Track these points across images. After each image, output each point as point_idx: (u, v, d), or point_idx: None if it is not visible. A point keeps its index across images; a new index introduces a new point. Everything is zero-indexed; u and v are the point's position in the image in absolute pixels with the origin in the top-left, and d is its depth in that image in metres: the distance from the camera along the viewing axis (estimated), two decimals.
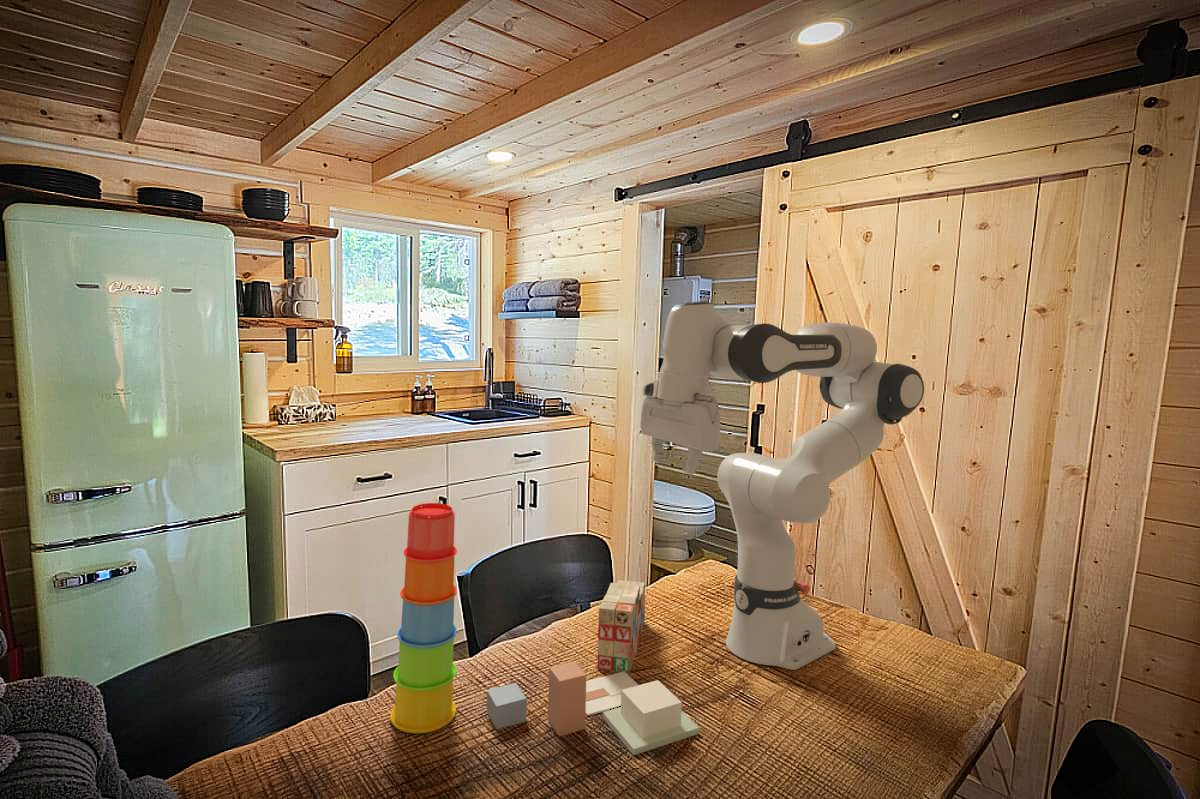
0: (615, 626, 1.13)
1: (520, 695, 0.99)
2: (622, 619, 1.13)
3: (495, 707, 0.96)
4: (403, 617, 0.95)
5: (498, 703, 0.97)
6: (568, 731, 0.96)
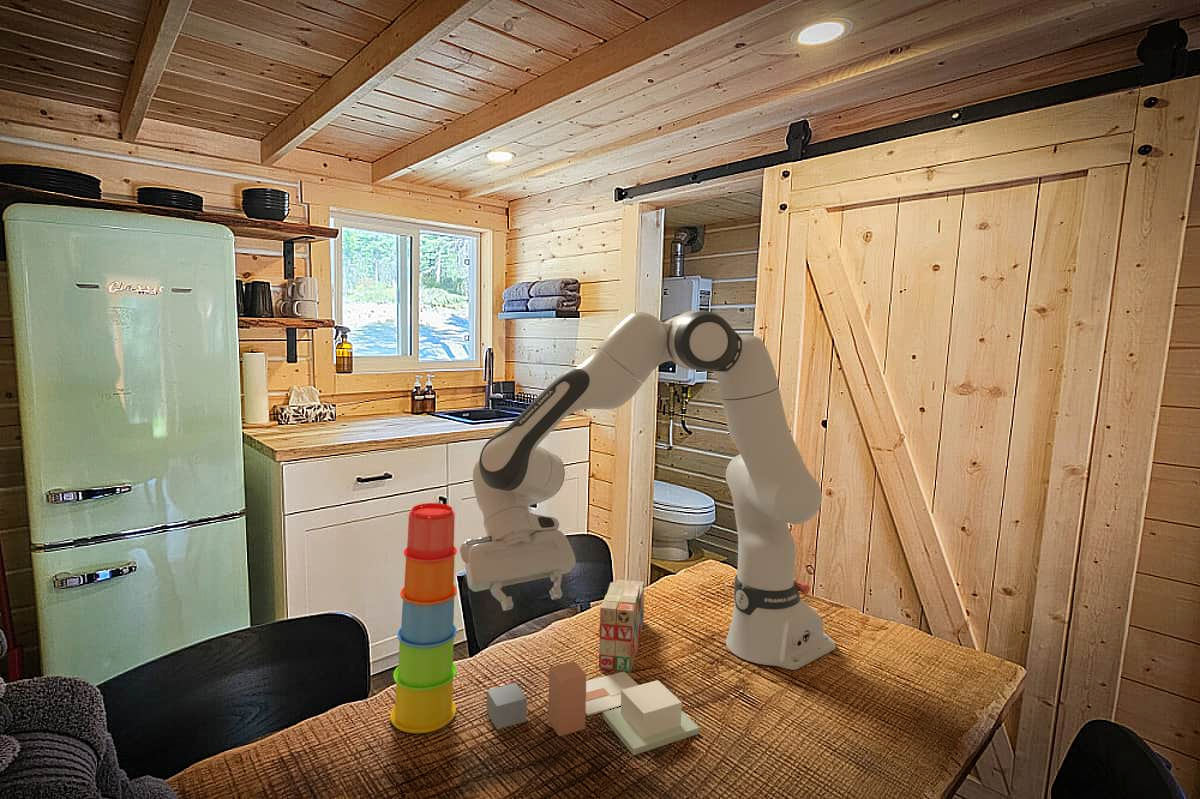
0: (617, 625, 1.13)
1: (520, 695, 0.99)
2: (623, 618, 1.13)
3: (495, 707, 0.96)
4: (403, 617, 0.95)
5: (498, 703, 0.97)
6: (568, 731, 0.96)
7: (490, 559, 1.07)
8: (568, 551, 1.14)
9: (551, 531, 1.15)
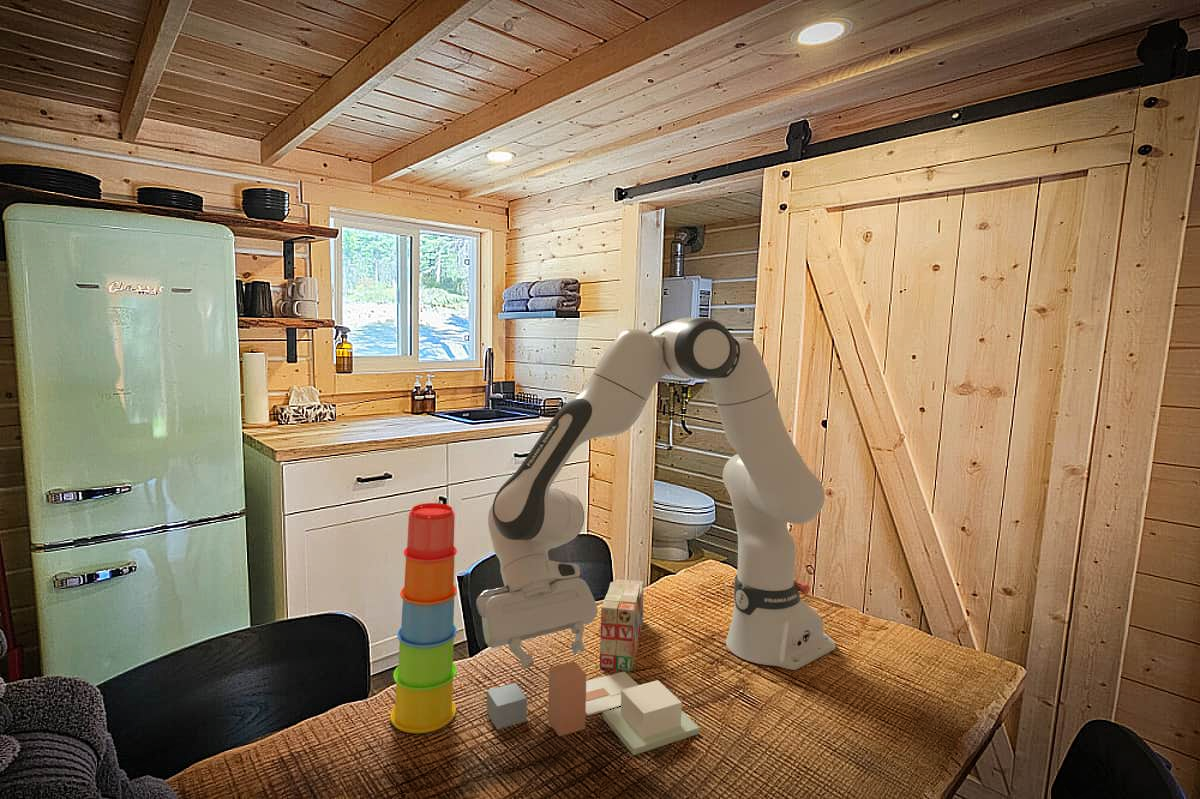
0: (618, 625, 1.14)
1: (520, 695, 0.99)
2: (624, 618, 1.13)
3: (496, 707, 0.96)
4: (403, 617, 0.95)
5: (498, 703, 0.97)
6: (568, 731, 0.96)
7: (508, 612, 1.01)
8: (590, 601, 1.08)
9: (572, 579, 1.09)
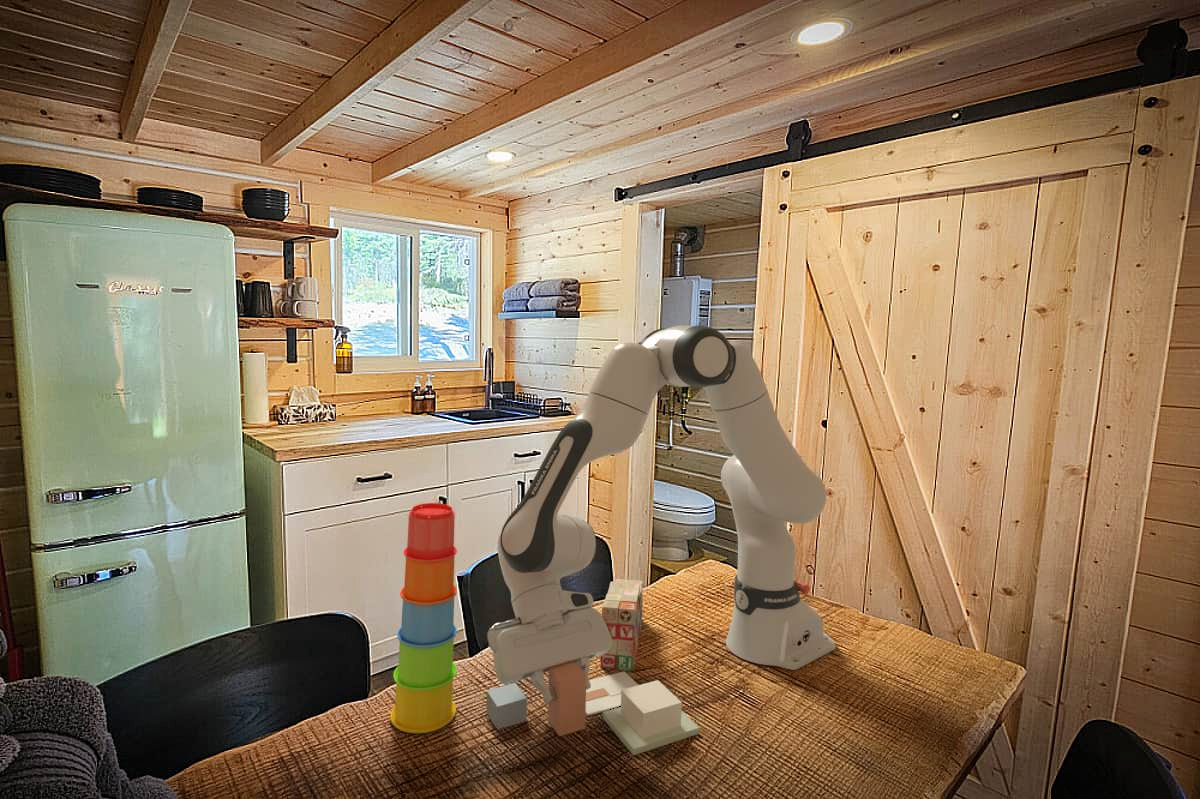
0: (619, 624, 1.14)
1: (520, 695, 0.99)
2: (625, 617, 1.14)
3: (496, 707, 0.96)
4: (403, 617, 0.95)
5: (498, 703, 0.97)
6: (568, 731, 0.96)
7: (521, 647, 0.97)
8: (604, 632, 1.04)
9: (585, 609, 1.05)
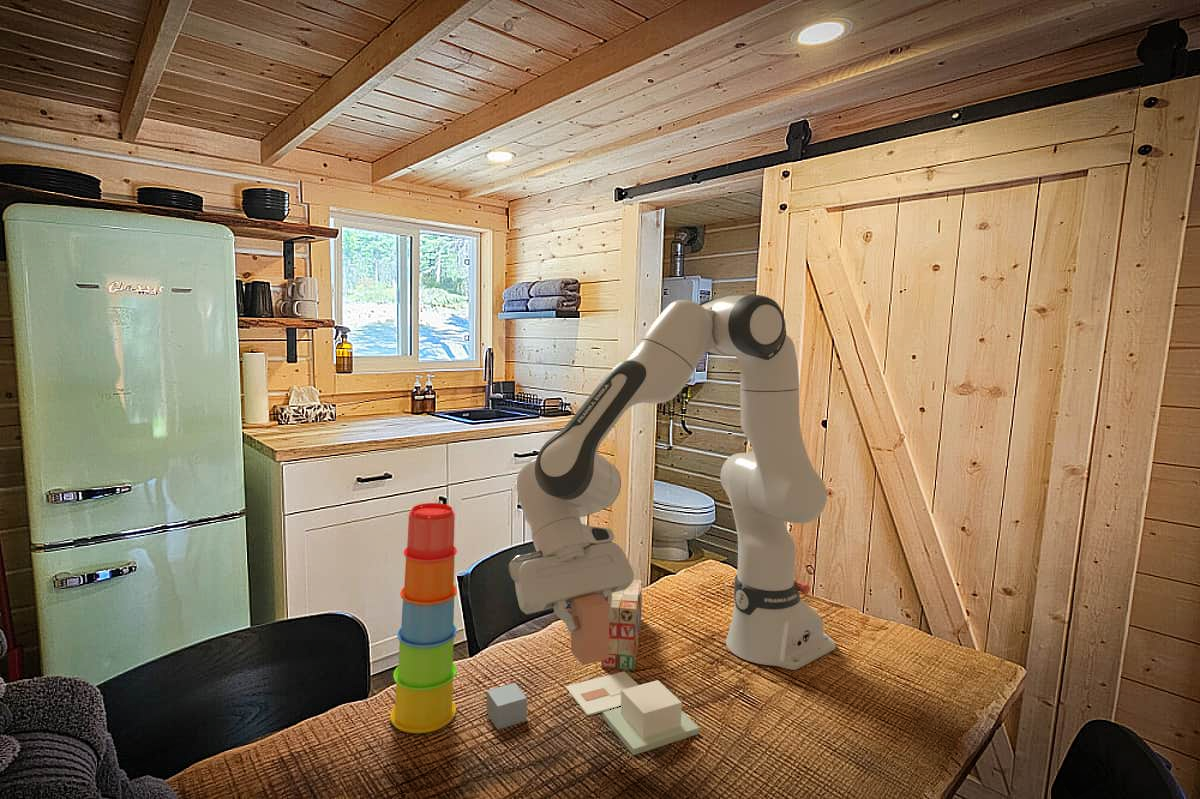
0: (620, 624, 1.14)
1: (520, 695, 0.99)
2: (626, 617, 1.14)
3: (496, 707, 0.96)
4: (403, 617, 0.95)
5: (499, 703, 0.97)
6: (592, 660, 0.95)
7: (543, 577, 0.97)
8: (626, 566, 1.03)
9: (606, 544, 1.04)
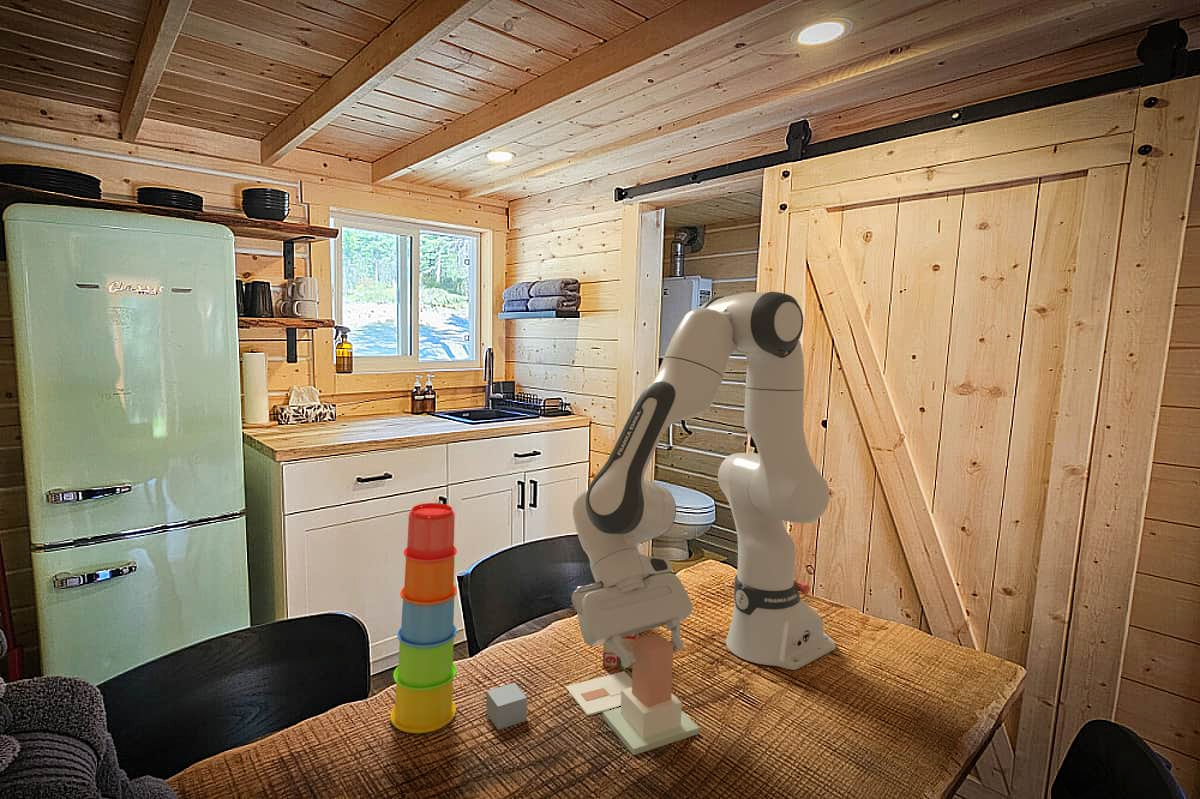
0: None
1: (520, 694, 0.99)
2: None
3: (496, 707, 0.96)
4: (403, 617, 0.95)
5: (499, 703, 0.97)
6: (656, 702, 0.95)
7: (606, 609, 0.97)
8: (684, 596, 1.04)
9: (665, 574, 1.04)
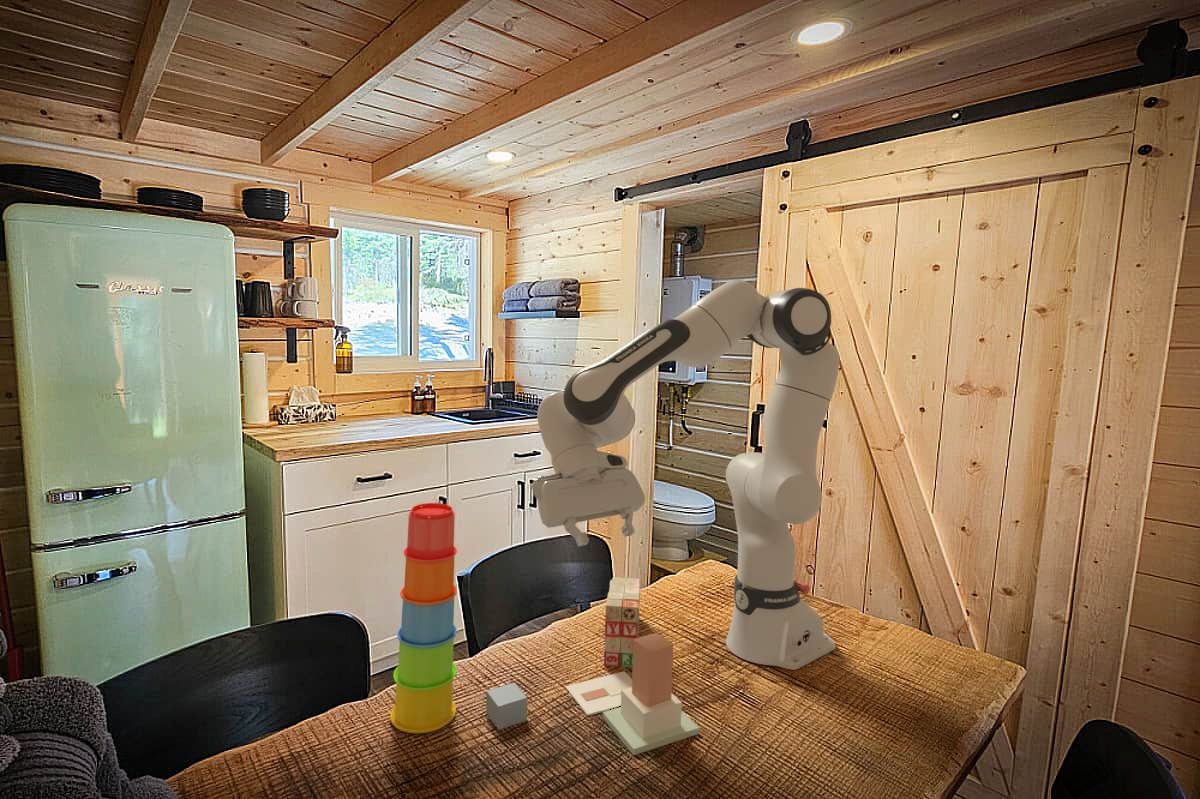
0: (622, 622, 1.15)
1: (520, 694, 0.99)
2: (629, 615, 1.15)
3: (497, 707, 0.96)
4: (403, 617, 0.95)
5: (499, 703, 0.97)
6: (656, 702, 0.95)
7: (563, 495, 1.06)
8: (637, 489, 1.13)
9: (620, 469, 1.13)
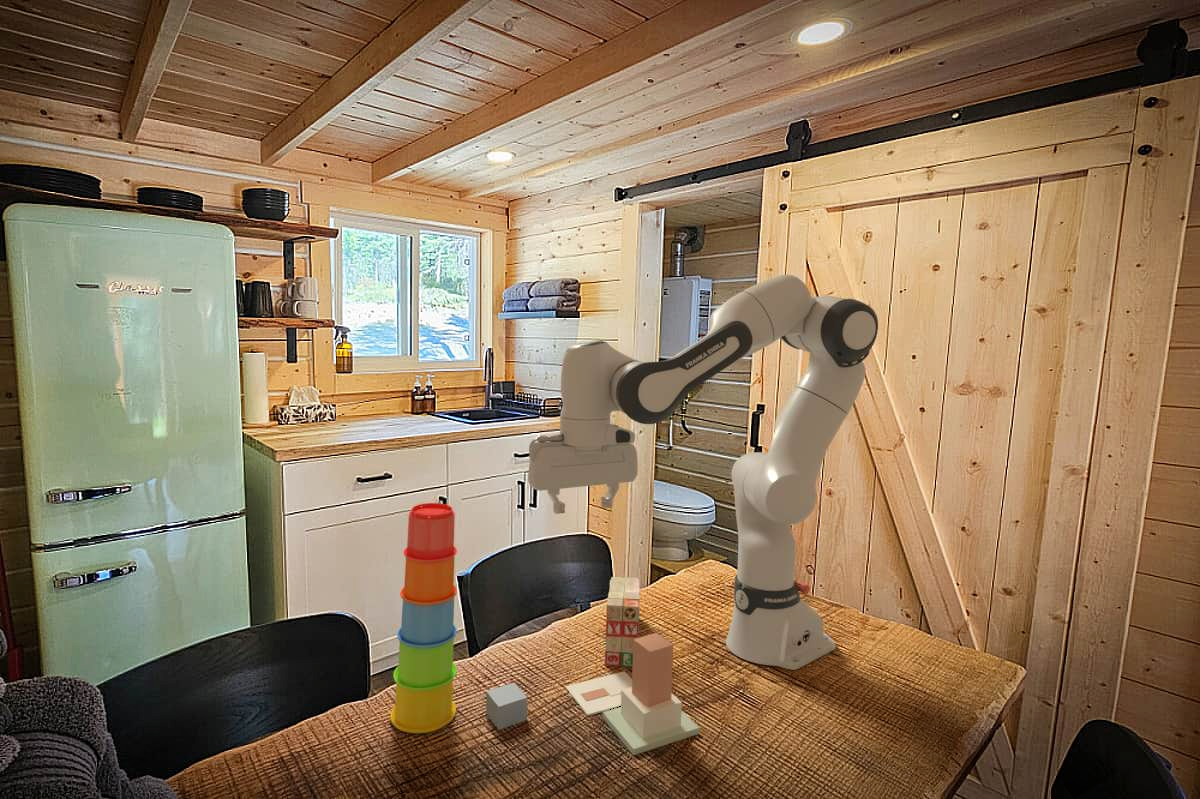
0: (623, 622, 1.15)
1: (520, 694, 0.99)
2: (630, 615, 1.15)
3: (497, 708, 0.96)
4: (403, 617, 0.95)
5: (499, 703, 0.97)
6: (656, 702, 0.95)
7: (556, 466, 1.04)
8: (633, 467, 1.11)
9: (624, 445, 1.09)
